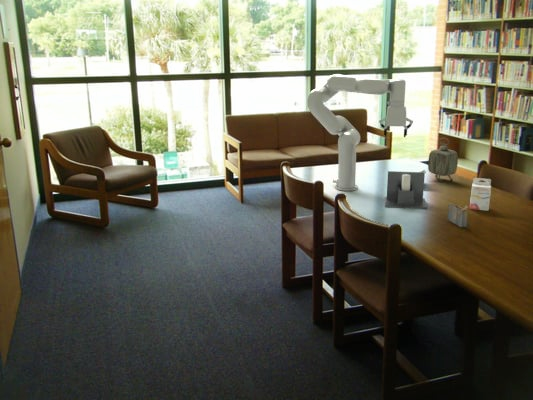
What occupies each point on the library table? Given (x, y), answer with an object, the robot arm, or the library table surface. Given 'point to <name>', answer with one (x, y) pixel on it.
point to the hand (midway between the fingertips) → (395, 136)
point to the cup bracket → (405, 198)
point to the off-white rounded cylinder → (406, 182)
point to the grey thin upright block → (457, 215)
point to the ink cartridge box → (480, 194)
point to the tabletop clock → (443, 161)
